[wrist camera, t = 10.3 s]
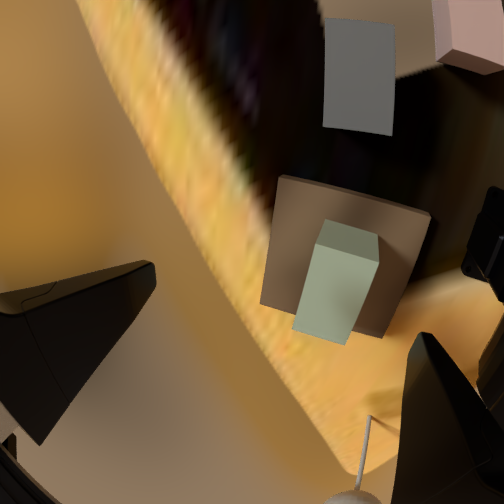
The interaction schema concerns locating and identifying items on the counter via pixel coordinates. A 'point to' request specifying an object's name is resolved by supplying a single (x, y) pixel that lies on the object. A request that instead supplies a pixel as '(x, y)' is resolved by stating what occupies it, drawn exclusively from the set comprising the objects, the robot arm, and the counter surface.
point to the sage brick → (337, 281)
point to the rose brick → (470, 34)
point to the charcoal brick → (359, 75)
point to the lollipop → (357, 481)
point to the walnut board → (348, 213)
